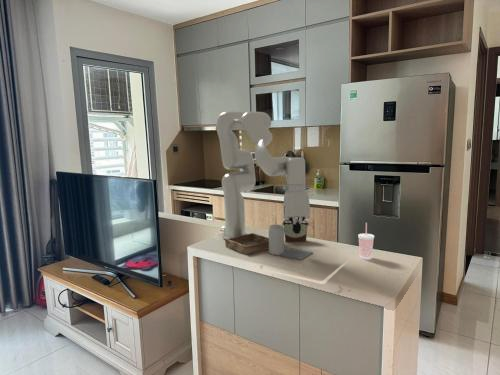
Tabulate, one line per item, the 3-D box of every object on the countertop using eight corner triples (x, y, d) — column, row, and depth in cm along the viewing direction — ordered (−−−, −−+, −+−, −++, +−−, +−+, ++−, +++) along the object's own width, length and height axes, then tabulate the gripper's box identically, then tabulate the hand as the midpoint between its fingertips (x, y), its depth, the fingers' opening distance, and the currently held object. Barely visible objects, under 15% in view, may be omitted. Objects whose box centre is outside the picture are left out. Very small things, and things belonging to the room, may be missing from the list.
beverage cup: (362, 254, 145) (362, 220, 143) (376, 257, 141) (377, 222, 139) (354, 257, 141) (355, 223, 139) (369, 261, 137) (369, 225, 135)
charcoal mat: (279, 255, 145) (279, 254, 145) (291, 249, 153) (291, 248, 153) (301, 260, 140) (301, 259, 140) (312, 253, 148) (312, 252, 148)
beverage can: (273, 257, 145) (273, 228, 144) (266, 252, 151) (266, 225, 149) (286, 255, 148) (287, 226, 146) (279, 250, 154) (279, 223, 152)
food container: (308, 238, 169) (308, 218, 168) (309, 242, 163) (309, 221, 162) (282, 238, 170) (282, 218, 169) (282, 242, 164) (281, 221, 163)
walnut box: (225, 246, 160) (225, 239, 159) (252, 240, 169) (252, 233, 169) (246, 255, 147) (246, 246, 147) (274, 247, 157) (274, 239, 156)
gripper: (280, 190, 138) (281, 236, 140) (317, 188, 140) (317, 233, 143) (275, 188, 145) (276, 232, 148) (310, 186, 148) (311, 229, 150)
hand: (296, 232), depth 145 cm, fingers closed
